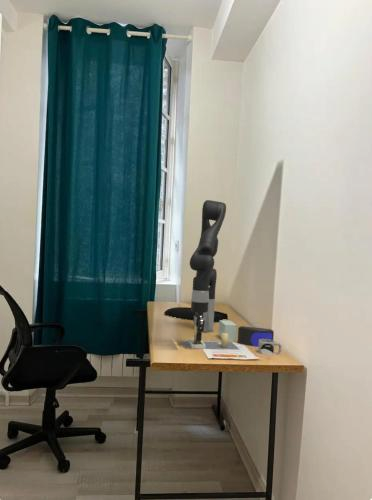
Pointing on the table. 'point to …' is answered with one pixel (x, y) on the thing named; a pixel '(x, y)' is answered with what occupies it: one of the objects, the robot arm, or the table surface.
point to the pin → (195, 336)
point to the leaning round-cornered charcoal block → (253, 335)
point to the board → (210, 344)
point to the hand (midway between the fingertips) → (197, 339)
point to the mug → (268, 346)
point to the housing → (228, 329)
